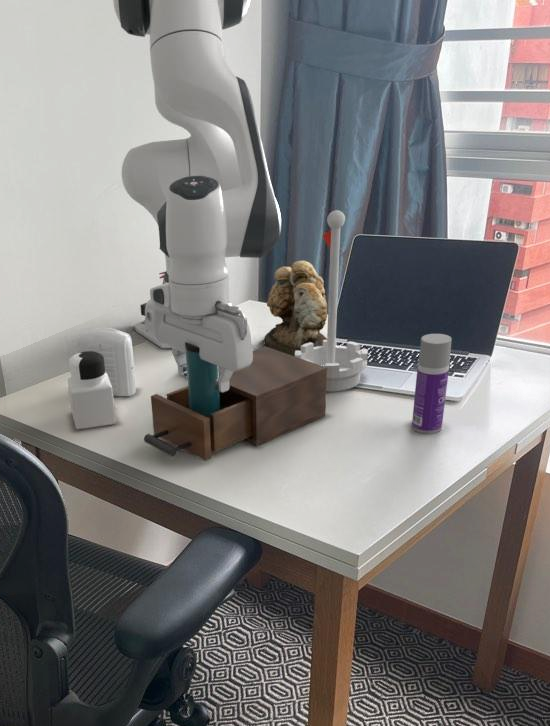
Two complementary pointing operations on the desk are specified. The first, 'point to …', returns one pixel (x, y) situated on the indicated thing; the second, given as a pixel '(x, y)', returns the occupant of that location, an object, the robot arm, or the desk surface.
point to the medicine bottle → (90, 391)
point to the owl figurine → (297, 308)
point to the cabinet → (280, 393)
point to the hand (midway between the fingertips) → (203, 382)
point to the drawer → (199, 424)
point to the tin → (201, 383)
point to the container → (431, 383)
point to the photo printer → (112, 356)
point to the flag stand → (338, 359)
